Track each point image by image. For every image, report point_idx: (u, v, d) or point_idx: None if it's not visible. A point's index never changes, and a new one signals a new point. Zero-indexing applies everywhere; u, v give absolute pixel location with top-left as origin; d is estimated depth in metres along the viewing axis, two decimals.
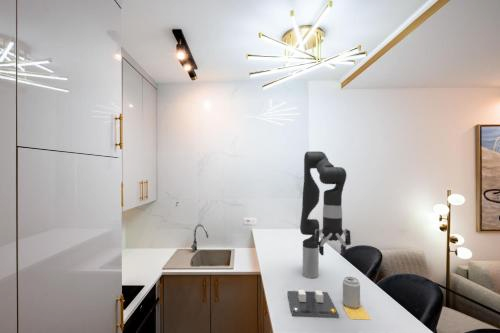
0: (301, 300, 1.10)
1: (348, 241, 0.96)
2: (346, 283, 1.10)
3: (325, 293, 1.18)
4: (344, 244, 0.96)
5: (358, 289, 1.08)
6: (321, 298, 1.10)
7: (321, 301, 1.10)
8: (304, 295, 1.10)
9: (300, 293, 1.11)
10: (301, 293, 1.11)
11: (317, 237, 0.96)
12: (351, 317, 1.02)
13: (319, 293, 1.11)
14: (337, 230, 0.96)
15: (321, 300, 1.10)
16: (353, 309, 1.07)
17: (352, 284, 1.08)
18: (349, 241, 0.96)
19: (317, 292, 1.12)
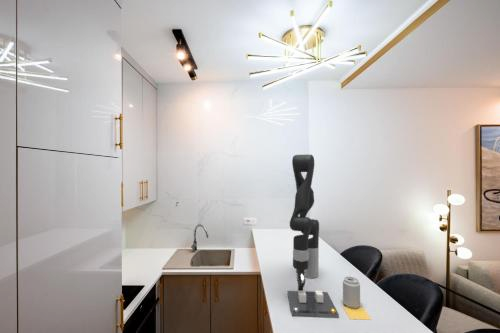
0: (301, 301, 1.10)
1: None
2: (346, 283, 1.10)
3: (325, 293, 1.18)
4: None
5: (358, 289, 1.08)
6: (321, 298, 1.10)
7: (321, 301, 1.10)
8: (304, 296, 1.10)
9: (300, 294, 1.11)
10: (301, 294, 1.11)
11: None
12: (351, 317, 1.02)
13: (319, 293, 1.11)
14: None
15: (321, 300, 1.10)
16: (353, 309, 1.07)
17: (352, 284, 1.08)
18: None
19: (317, 292, 1.12)
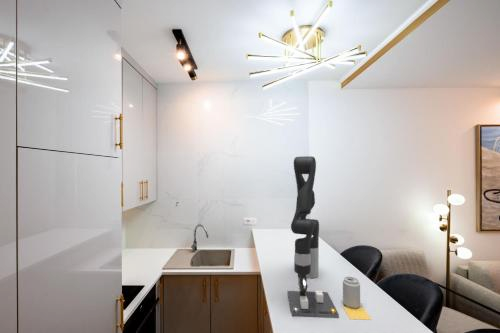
0: (303, 307, 1.05)
1: None
2: (346, 283, 1.10)
3: (325, 293, 1.18)
4: None
5: (358, 289, 1.08)
6: (321, 298, 1.10)
7: (321, 301, 1.10)
8: (306, 302, 1.05)
9: (302, 300, 1.06)
10: (303, 300, 1.06)
11: (306, 288, 1.07)
12: (351, 317, 1.02)
13: (319, 293, 1.11)
14: None
15: (321, 300, 1.10)
16: (353, 309, 1.07)
17: (352, 284, 1.08)
18: None
19: (317, 292, 1.12)
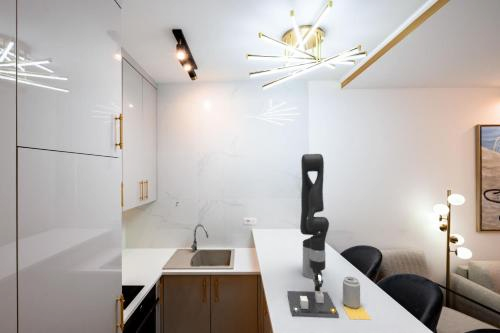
0: (303, 307, 1.05)
1: None
2: (346, 283, 1.10)
3: (325, 293, 1.18)
4: None
5: (358, 289, 1.08)
6: (321, 299, 1.09)
7: (321, 302, 1.09)
8: (306, 302, 1.05)
9: (302, 300, 1.06)
10: (303, 300, 1.06)
11: None
12: (351, 317, 1.02)
13: (319, 294, 1.11)
14: None
15: (321, 301, 1.09)
16: (353, 309, 1.07)
17: (352, 284, 1.08)
18: None
19: (317, 292, 1.12)
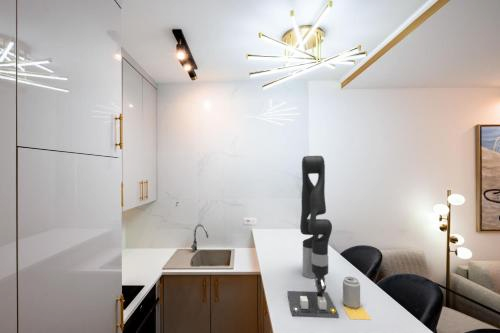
0: (303, 307, 1.05)
1: None
2: (346, 283, 1.10)
3: (325, 293, 1.18)
4: None
5: (358, 289, 1.08)
6: (324, 305, 1.05)
7: (324, 308, 1.05)
8: (306, 302, 1.05)
9: (302, 300, 1.06)
10: (303, 300, 1.06)
11: None
12: (351, 317, 1.02)
13: (322, 299, 1.06)
14: None
15: (324, 307, 1.05)
16: (353, 309, 1.07)
17: (352, 284, 1.08)
18: None
19: (320, 298, 1.07)
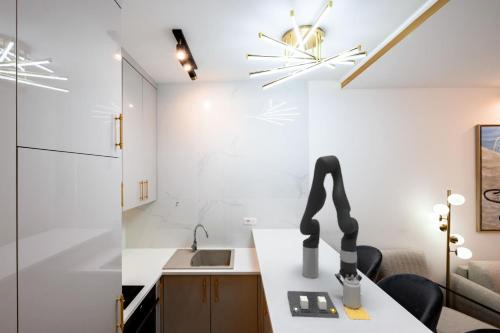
0: (303, 307, 1.05)
1: None
2: (347, 284, 1.09)
3: (325, 293, 1.18)
4: None
5: (359, 290, 1.08)
6: (324, 305, 1.05)
7: (324, 308, 1.05)
8: (306, 302, 1.05)
9: (302, 300, 1.06)
10: (303, 300, 1.06)
11: None
12: (351, 317, 1.02)
13: (322, 299, 1.06)
14: None
15: (324, 307, 1.05)
16: (353, 309, 1.07)
17: (353, 285, 1.08)
18: None
19: (320, 298, 1.07)
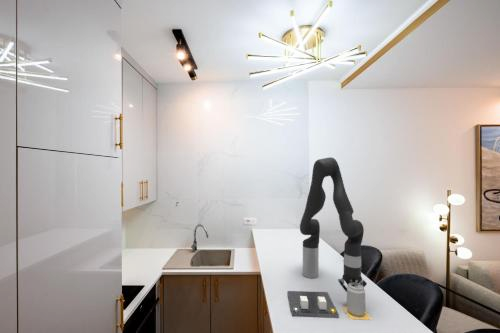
0: (303, 307, 1.05)
1: None
2: (351, 290, 1.04)
3: (325, 293, 1.18)
4: None
5: (363, 296, 1.03)
6: (324, 305, 1.05)
7: (324, 308, 1.05)
8: (306, 302, 1.05)
9: (302, 300, 1.06)
10: (303, 300, 1.06)
11: None
12: (351, 317, 1.02)
13: (322, 299, 1.06)
14: None
15: (324, 307, 1.05)
16: None
17: (357, 291, 1.02)
18: None
19: (320, 298, 1.07)
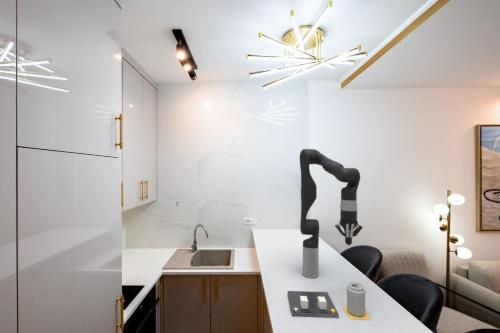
0: (303, 307, 1.05)
1: None
2: (351, 290, 1.04)
3: (325, 293, 1.18)
4: None
5: (364, 296, 1.02)
6: (324, 305, 1.05)
7: (324, 308, 1.05)
8: (306, 302, 1.05)
9: (302, 300, 1.06)
10: (303, 300, 1.06)
11: None
12: (351, 317, 1.02)
13: (322, 299, 1.06)
14: None
15: (324, 307, 1.05)
16: None
17: (357, 291, 1.02)
18: None
19: (320, 298, 1.07)
